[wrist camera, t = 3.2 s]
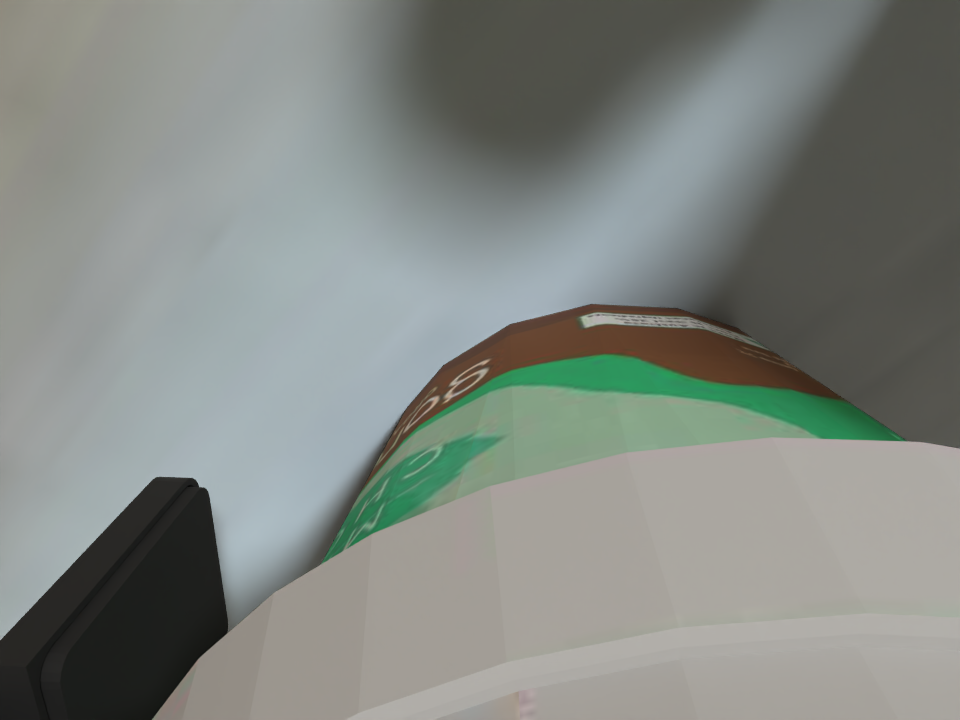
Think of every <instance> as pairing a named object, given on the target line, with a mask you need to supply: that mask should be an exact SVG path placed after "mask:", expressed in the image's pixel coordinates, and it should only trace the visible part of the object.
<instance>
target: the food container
mask: <svg viewBox="0 0 960 720" xmlns="http://www.w3.org/2000/svg"><path fill="white" fill-rule="evenodd" d="M152 720H960V449H959V448H953V447H947V446H942V445H936V444H930V443H924V442H908V441H907V440H905V439H904V438H902V437H901V436H899V435H898V434H896V433H895V432H893V431H892V430H890V429H889V428H887V427H886V426H884V425H883V424H881V423H880V422H878V421H877V420H875V419H874V418H872V417H871V416H869V415H868V414H866V413H865V412H863V411H862V410H860V409H859V408H857V407H856V406H854V405H853V404H851V403H850V402H848V401H847V400H845V399H844V398H842V397H841V396H839V395H837V394H836V393H834V392H833V391H831V390H830V389H828V388H827V387H825V386H824V385H822V384H821V383H819V382H818V381H816V380H815V379H813V378H812V377H810V376H809V375H807V374H806V373H804V372H803V371H801V370H800V369H798V368H797V367H795V366H794V365H792V364H791V363H789V362H788V361H786V360H785V359H783V358H782V357H780V356H779V355H777V354H776V353H774V352H773V351H771V350H770V349H768V348H767V347H765V346H764V345H762V344H761V343H759V342H758V341H756V340H755V339H753V338H752V337H750V336H749V335H747V334H745V333H744V332H742V331H741V330H739V329H738V328H735V327H732V326H729V325H726V324H723V323H720V322H717V321H714V320H711V319H708V318H705V317H702V316H699V315H696V314H693V313H690V312H687V311H684V310H681V309H678V308H661V307H641V306H620V305H600V304H590V305H586V306H582V307H578V308H574V309H570V310H565V311H561V312H557V313H553V314H549V315H545V316H541V317H537V318H533V319H529V320H525V321H521V322H517V323H513V324H510V325H508V326H506V327H505V328H503V329H502V330H500V331H498V332H497V333H495V334H493V335H492V336H490V337H489V338H487V339H485V340H484V341H482V342H480V343H479V344H477V345H475V346H474V347H472V348H471V349H469V350H467V351H466V352H464V353H462V354H461V355H459V356H458V357H456V358H454V359H453V360H451V361H449V362H448V363H446V364H445V365H443V366H442V368H441V369H440V370H439V371H438V372H437V373H436V375H435V376H434V377H433V378H432V379H431V380H430V382H429V383H428V384H427V385H426V386H425V387H424V388H423V390H422V391H421V392H420V393H419V394H418V395H417V397H416V398H415V399H414V400H413V401H412V402H411V404H410V405H409V406H408V407H407V409H406V410H405V412H404V414H403V416H402V418H401V419H400V421H399V423H398V425H397V427H396V429H395V430H394V432H393V434H392V436H391V438H390V439H389V441H388V443H387V445H386V447H385V449H384V450H383V452H382V454H381V456H380V458H379V459H378V461H377V463H376V465H375V467H374V469H373V470H372V472H371V474H370V476H369V478H368V480H367V481H366V483H365V485H364V487H363V489H362V490H361V492H360V494H359V496H358V498H357V500H356V501H355V503H354V505H353V507H352V509H351V510H350V512H349V514H348V516H347V518H346V520H345V521H344V523H343V525H342V527H341V529H340V530H339V532H338V534H337V536H336V538H335V540H334V541H333V543H332V545H331V547H330V549H329V550H328V552H327V554H326V556H325V558H324V560H323V561H322V563H321V565H319V566H318V567H316V568H314V569H313V570H311V571H309V572H308V573H306V574H304V575H303V576H301V577H299V578H298V579H296V580H294V581H293V582H291V583H289V584H288V585H286V586H284V587H283V588H281V589H279V590H278V591H276V592H274V593H273V594H272V595H271V596H270V597H269V598H267V599H266V600H265V601H264V602H263V603H262V604H261V605H259V606H258V607H257V608H256V609H255V610H254V611H253V612H251V613H250V614H249V615H248V616H247V617H246V618H245V619H243V620H242V621H241V622H240V623H239V624H238V625H236V626H235V627H234V628H233V629H232V630H231V631H230V632H228V633H227V634H226V635H225V636H224V637H223V638H222V639H220V640H219V641H218V642H217V643H216V644H215V645H214V646H212V647H211V648H210V649H209V650H208V651H207V652H206V653H204V654H203V655H202V656H201V657H200V658H199V659H198V660H197V662H196V663H195V664H194V665H193V667H192V668H191V669H190V671H189V672H188V673H187V675H186V676H185V677H184V678H183V680H182V681H181V682H180V684H179V685H178V686H177V688H176V689H175V690H174V692H173V693H172V694H171V695H170V697H169V698H168V699H167V701H166V702H165V703H164V705H163V706H162V707H161V708H160V710H159V711H158V712H157V714H156V715H155V716H154V718H153V719H152Z"/></svg>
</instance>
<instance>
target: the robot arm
mask: <svg viewBox="0 0 960 720" xmlns="http://www.w3.org/2000/svg"><path fill="white" fill-rule="evenodd" d="M227 631H228V619H227V612H226V605H225V599H224V592H223V585H222V578H221V572H220V565H219V558H218V551H217V545H216V538H215V531H214V524H213V518H212V511H211V504H210V497H209V493H208V491H207V489H205V488H202V487H199V485H198V483H197V481H196V480H195V479H193V478H175V477H156V478H155V479H153V480H152V481H151V482H150V483H149V484H148V485H147V486H146V487H145V488H144V489H143V491H142V492H141V493H140V494H139V495H138V496H137V497H136V498H135V499H134V500H133V501H132V502H131V503H130V504H129V505H128V506H127V507H126V508H125V510H124V511H123V512H122V513H121V514H120V515H119V516H118V517H117V518H116V519H115V520H114V521H113V522H112V523H111V524H110V525H109V526H108V527H107V529H106V530H105V531H104V532H103V533H102V534H101V535H100V536H99V537H98V538H97V539H96V540H95V541H94V542H93V543H92V544H91V545H90V546H89V548H88V549H87V550H86V551H85V552H84V553H83V554H82V555H81V556H80V557H79V558H78V559H77V560H76V561H75V562H74V563H73V564H72V565H71V567H70V568H69V569H68V570H67V571H66V572H65V573H64V574H63V575H62V576H61V577H60V578H59V579H58V580H57V581H56V582H55V583H54V584H53V586H52V587H51V588H50V589H49V590H48V591H47V592H46V593H45V594H44V595H43V596H42V597H41V598H40V599H39V600H38V601H37V602H36V603H35V605H34V606H33V607H32V608H31V609H30V610H29V611H28V612H27V613H26V614H25V615H24V616H23V617H22V618H21V619H20V620H19V621H18V622H17V624H16V625H15V626H14V627H13V628H12V629H11V630H10V631H9V632H8V633H7V634H6V635H5V636H4V637H3V638H2V639H1V640H0V720H152V719H153V718H154V716H155V715H156V714H157V712H158V711H159V710H160V708H161V707H162V706H163V705H164V703H165V702H166V701H167V699H168V698H169V697H170V695H171V694H172V693H173V692H174V690H175V689H176V688H177V686H178V685H179V684H180V682H181V681H182V680H183V678H184V677H185V676H186V675H187V673H188V672H189V671H190V669H191V668H192V667H193V665H194V664H195V663H196V662H197V660H198V659H199V658H200V657H201V656H202V655H203V654H204V653H206V652H207V651H208V650H209V649H210V648H211V647H212V646H214V645H215V644H216V643H217V642H218V641H219V640H220V639H222V638H223V637H224V636H225V635H226V634H227Z"/></svg>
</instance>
